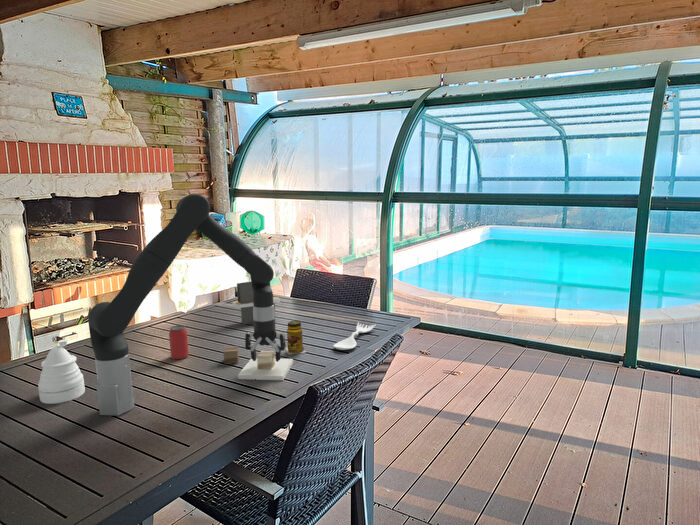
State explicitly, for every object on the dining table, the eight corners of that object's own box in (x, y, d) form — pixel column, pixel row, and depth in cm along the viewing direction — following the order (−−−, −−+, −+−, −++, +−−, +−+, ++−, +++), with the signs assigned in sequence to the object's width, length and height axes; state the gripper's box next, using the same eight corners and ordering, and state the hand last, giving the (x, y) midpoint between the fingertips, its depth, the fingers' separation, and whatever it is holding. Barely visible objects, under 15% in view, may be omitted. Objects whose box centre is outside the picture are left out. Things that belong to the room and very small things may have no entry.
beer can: (183, 360, 189) (180, 330, 187) (167, 359, 191) (165, 329, 188) (191, 354, 196) (189, 325, 194) (176, 353, 197) (174, 324, 195)
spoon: (376, 330, 222) (376, 323, 222) (350, 355, 193) (350, 346, 192) (358, 328, 226) (358, 321, 225) (329, 352, 196) (329, 344, 196)
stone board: (283, 380, 170) (282, 376, 169) (238, 379, 171) (237, 374, 171) (293, 362, 185) (293, 358, 185) (251, 361, 187) (251, 357, 187)
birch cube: (271, 369, 175) (270, 356, 174) (257, 369, 176) (257, 355, 175) (275, 364, 180) (274, 351, 179) (261, 363, 181) (261, 350, 180)
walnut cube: (237, 363, 186) (237, 350, 185) (224, 364, 185) (223, 351, 184) (238, 358, 191) (238, 346, 190) (225, 359, 190) (224, 347, 189)
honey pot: (75, 383, 170) (69, 333, 167) (91, 393, 162) (85, 341, 159) (33, 396, 161) (26, 343, 157) (49, 407, 153) (41, 352, 149)
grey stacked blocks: (282, 309, 259) (280, 272, 256) (304, 320, 239) (303, 281, 235) (210, 322, 239) (207, 282, 235) (228, 336, 218) (225, 292, 214)
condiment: (288, 355, 193) (287, 325, 191) (284, 347, 201) (283, 319, 199) (306, 352, 195) (305, 323, 193) (302, 345, 203) (301, 317, 201)
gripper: (241, 320, 172) (243, 364, 175) (281, 321, 170) (283, 365, 173) (247, 314, 179) (250, 356, 182) (286, 314, 178) (288, 357, 181)
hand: (266, 360), depth 178 cm, fingers open, 8 cm apart
